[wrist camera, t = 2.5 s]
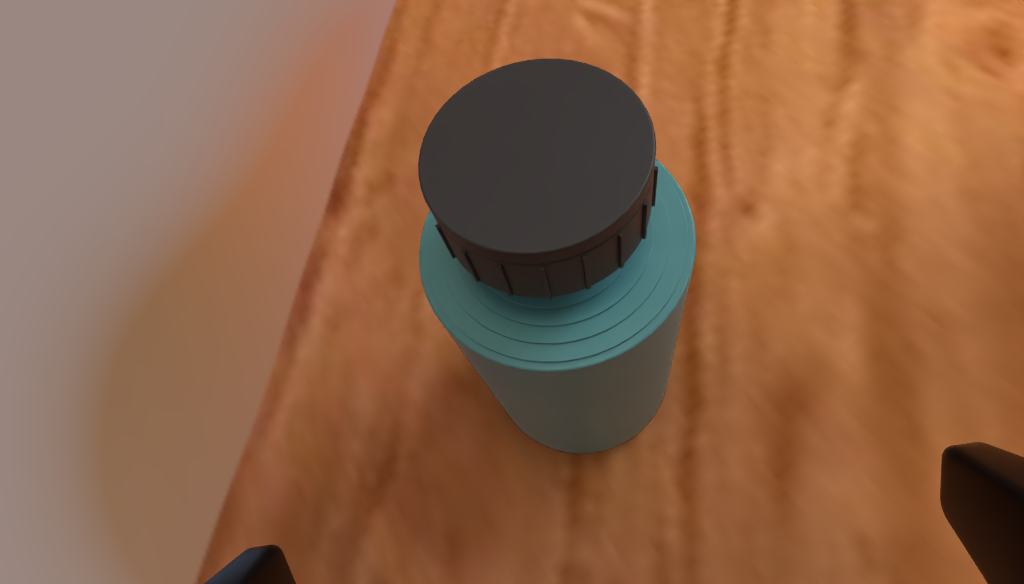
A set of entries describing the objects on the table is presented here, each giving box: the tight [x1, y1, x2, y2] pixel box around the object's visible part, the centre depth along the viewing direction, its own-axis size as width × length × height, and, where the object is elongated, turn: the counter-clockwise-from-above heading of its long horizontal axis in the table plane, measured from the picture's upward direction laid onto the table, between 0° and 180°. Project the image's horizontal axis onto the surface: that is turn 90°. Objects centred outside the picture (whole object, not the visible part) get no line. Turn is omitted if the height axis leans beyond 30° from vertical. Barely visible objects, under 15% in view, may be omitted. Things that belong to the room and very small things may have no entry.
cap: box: [418, 59, 658, 299], centre depth 12 cm, size 4×4×2 cm
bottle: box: [419, 159, 696, 453], centre depth 17 cm, size 6×6×12 cm
